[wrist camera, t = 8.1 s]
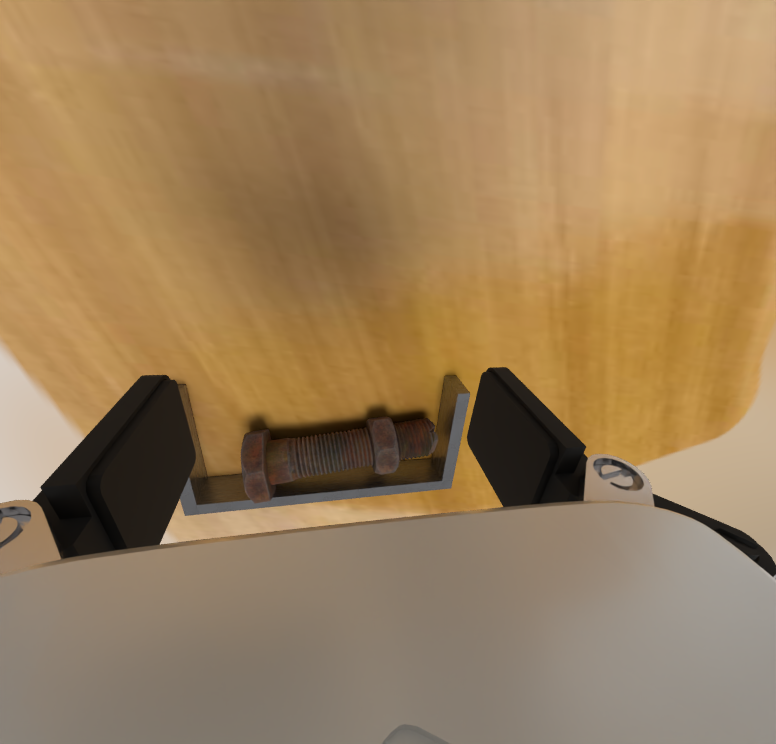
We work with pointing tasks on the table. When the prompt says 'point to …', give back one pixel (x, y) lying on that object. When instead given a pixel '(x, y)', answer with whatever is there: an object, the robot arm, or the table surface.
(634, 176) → the table surface
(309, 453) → the bolt
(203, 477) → the dock
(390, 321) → the table surface
